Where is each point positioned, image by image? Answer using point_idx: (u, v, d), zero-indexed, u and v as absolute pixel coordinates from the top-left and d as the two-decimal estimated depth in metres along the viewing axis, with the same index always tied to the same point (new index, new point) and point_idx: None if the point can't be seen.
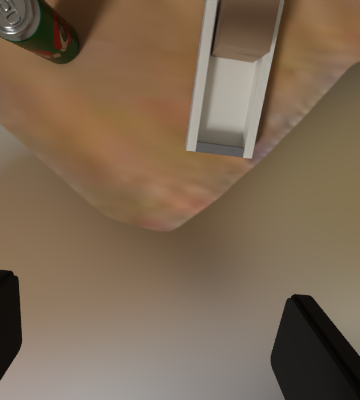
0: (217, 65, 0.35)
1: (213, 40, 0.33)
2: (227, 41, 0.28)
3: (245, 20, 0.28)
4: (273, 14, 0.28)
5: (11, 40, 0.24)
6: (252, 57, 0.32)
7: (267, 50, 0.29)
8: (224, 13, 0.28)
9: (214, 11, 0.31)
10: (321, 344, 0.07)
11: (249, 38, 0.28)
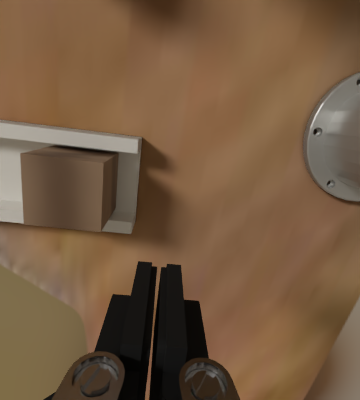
0: None
1: (70, 147, 0.25)
2: (25, 164, 0.20)
3: (55, 189, 0.20)
4: (68, 224, 0.21)
5: None
6: None
7: (24, 221, 0.21)
8: (60, 158, 0.20)
9: (92, 146, 0.23)
10: (160, 301, 0.08)
11: (34, 195, 0.20)
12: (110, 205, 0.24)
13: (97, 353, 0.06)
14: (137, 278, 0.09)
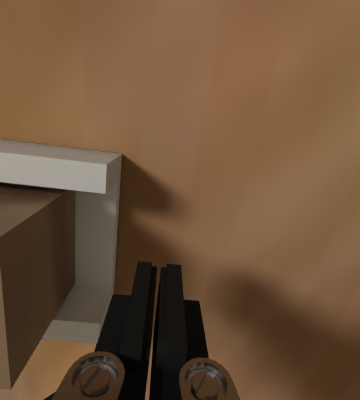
0: None
1: None
2: None
3: None
4: None
5: None
6: None
7: None
8: None
9: (7, 179, 0.11)
10: (159, 301, 0.08)
11: None
12: (53, 297, 0.12)
13: (97, 353, 0.06)
14: (137, 278, 0.09)
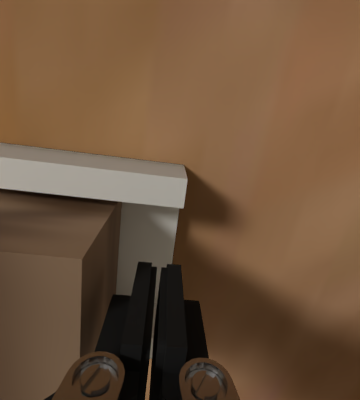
0: None
1: None
2: None
3: None
4: None
5: None
6: None
7: None
8: None
9: (84, 193, 0.10)
10: (159, 301, 0.08)
11: None
12: (104, 311, 0.11)
13: (97, 353, 0.06)
14: (137, 278, 0.09)
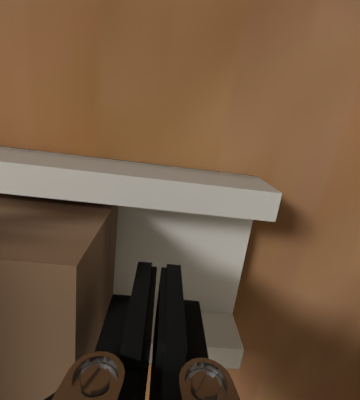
0: None
1: None
2: None
3: None
4: None
5: None
6: None
7: None
8: None
9: (180, 208, 0.10)
10: (159, 301, 0.08)
11: None
12: (101, 317, 0.11)
13: (97, 353, 0.06)
14: (137, 278, 0.09)
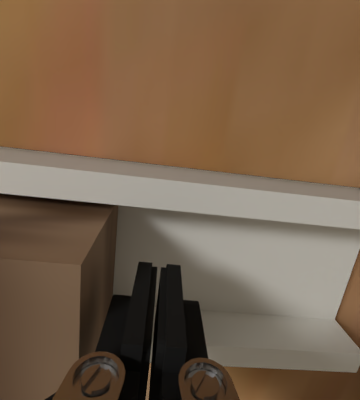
0: (195, 226, 0.13)
1: None
2: None
3: None
4: None
5: None
6: None
7: None
8: None
9: (328, 222, 0.11)
10: (159, 301, 0.08)
11: None
12: (102, 316, 0.11)
13: (98, 353, 0.06)
14: (138, 278, 0.09)
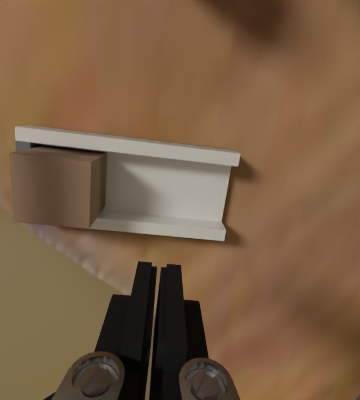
0: (143, 167, 0.27)
1: (60, 147, 0.25)
2: (15, 164, 0.20)
3: (44, 187, 0.21)
4: (57, 221, 0.22)
5: None
6: None
7: (14, 218, 0.22)
8: (49, 158, 0.20)
9: (197, 160, 0.25)
10: (159, 301, 0.08)
11: (24, 193, 0.21)
12: (99, 203, 0.25)
13: (97, 353, 0.06)
14: (137, 278, 0.09)
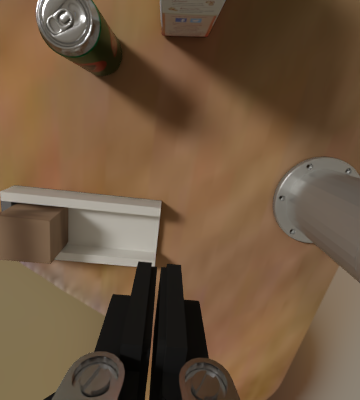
0: (95, 214, 0.37)
1: None
2: None
3: (18, 237, 0.31)
4: (28, 259, 0.32)
5: None
6: None
7: None
8: (21, 218, 0.30)
9: (130, 212, 0.35)
10: (160, 301, 0.08)
11: (5, 241, 0.31)
12: (60, 242, 0.35)
13: (97, 353, 0.06)
14: (137, 278, 0.09)
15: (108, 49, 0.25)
